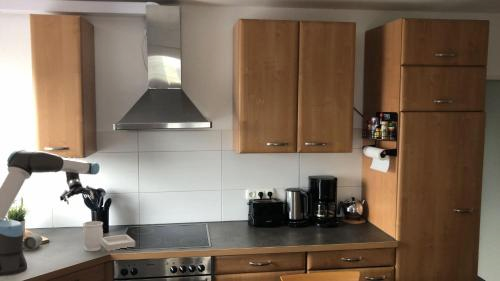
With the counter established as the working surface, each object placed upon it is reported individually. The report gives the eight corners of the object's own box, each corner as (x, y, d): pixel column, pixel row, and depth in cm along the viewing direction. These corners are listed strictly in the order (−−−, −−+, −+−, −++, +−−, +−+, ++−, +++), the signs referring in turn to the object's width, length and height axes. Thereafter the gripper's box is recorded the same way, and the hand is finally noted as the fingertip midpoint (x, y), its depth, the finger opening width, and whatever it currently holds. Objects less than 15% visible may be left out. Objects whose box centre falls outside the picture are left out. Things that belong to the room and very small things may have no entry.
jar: (106, 248, 246) (107, 222, 245) (93, 253, 236) (93, 226, 235) (92, 245, 250) (92, 219, 249) (78, 250, 241) (78, 223, 240)
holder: (107, 251, 241) (107, 245, 240) (100, 243, 254) (100, 237, 254) (135, 247, 249) (135, 241, 249) (126, 239, 263) (126, 234, 262)
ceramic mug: (43, 246, 247) (43, 232, 246) (36, 250, 239) (35, 236, 238) (25, 245, 247) (24, 232, 246) (17, 250, 239) (16, 236, 238)
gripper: (97, 188, 274) (103, 200, 256) (54, 197, 263) (58, 210, 245) (95, 177, 272) (102, 188, 254) (52, 185, 261) (56, 198, 243)
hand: (80, 199), depth 249 cm, fingers open, 13 cm apart
